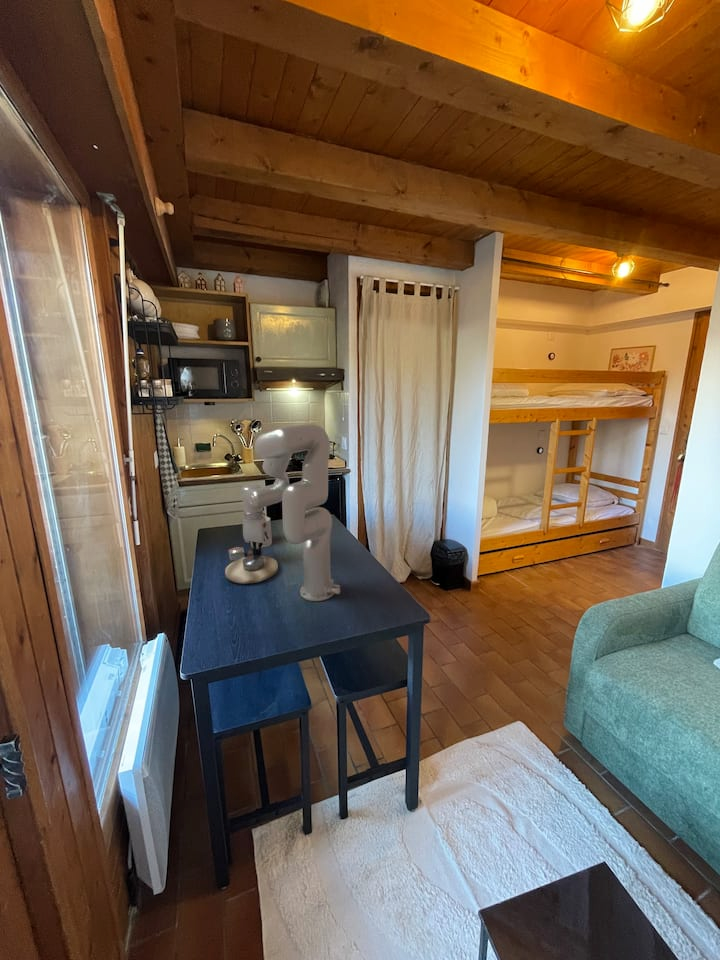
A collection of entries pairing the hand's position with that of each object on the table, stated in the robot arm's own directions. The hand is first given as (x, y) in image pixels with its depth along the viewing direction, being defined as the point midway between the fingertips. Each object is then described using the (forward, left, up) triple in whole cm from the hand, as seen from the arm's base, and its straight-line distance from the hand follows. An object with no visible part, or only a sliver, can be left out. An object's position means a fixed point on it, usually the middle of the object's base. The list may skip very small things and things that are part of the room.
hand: (257, 556), depth 158 cm
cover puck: (-3, +7, -1) cm, 8 cm away
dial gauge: (+12, -1, -3) cm, 13 cm away
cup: (+10, -17, -4) cm, 20 cm away
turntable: (-3, +8, -2) cm, 8 cm away
